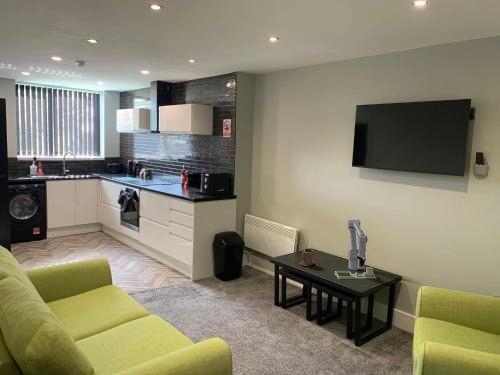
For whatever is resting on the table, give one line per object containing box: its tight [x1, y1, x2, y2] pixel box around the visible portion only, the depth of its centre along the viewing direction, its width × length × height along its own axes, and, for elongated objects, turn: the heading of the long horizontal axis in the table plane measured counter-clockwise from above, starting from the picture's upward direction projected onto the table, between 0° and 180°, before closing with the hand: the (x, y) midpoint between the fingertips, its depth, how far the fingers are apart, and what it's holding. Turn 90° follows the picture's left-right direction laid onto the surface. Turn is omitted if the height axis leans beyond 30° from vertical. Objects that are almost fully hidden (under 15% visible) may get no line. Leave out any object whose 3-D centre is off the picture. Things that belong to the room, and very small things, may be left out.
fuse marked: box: [357, 259, 366, 270], centre depth 317 cm, size 3×5×7 cm, turn 93°
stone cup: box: [298, 248, 316, 267], centre depth 345 cm, size 15×12×15 cm
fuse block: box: [352, 271, 377, 279], centre depth 319 cm, size 10×18×4 cm, turn 93°
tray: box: [334, 270, 356, 281], centre depth 318 cm, size 13×13×3 cm
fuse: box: [365, 266, 374, 277], centre depth 318 cm, size 3×5×7 cm, turn 93°
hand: (360, 265), depth 317 cm, fingers closed on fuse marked, 3 cm apart
